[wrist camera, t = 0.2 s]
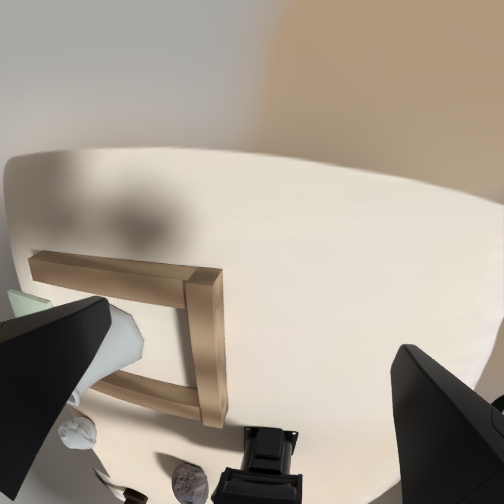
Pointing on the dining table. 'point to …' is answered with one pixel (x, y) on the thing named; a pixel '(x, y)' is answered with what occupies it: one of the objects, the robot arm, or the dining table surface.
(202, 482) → the perforated stone tool
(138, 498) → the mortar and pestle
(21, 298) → the pad
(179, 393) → the frame
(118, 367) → the flask
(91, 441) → the frog figurine
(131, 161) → the dining table surface
